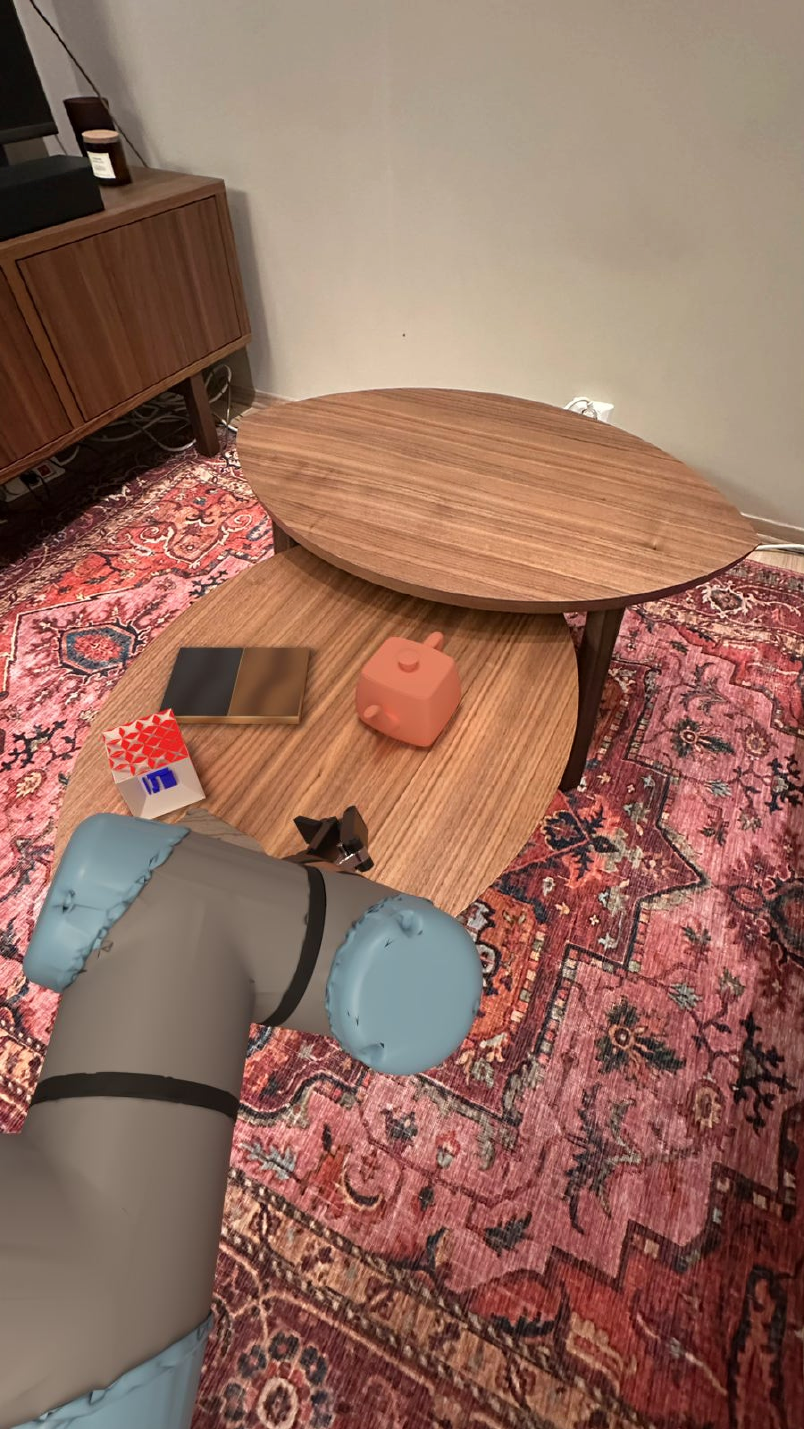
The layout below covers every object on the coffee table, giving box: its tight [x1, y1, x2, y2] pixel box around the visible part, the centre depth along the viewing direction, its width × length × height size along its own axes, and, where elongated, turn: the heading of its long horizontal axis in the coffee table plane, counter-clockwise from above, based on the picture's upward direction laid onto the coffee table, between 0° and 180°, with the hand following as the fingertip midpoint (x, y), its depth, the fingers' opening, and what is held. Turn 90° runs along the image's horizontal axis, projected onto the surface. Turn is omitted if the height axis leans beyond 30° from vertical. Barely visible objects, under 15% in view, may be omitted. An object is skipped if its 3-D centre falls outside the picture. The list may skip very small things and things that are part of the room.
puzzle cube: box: [100, 708, 207, 820], centre depth 78 cm, size 8×8×8 cm
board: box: [158, 646, 311, 725], centre depth 91 cm, size 18×13×1 cm
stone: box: [173, 807, 268, 855], centre depth 71 cm, size 15×9×10 cm
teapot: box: [355, 631, 462, 748], centre depth 83 cm, size 12×18×10 cm, turn 150°
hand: (240, 870), depth 63 cm, fingers open, 13 cm apart
